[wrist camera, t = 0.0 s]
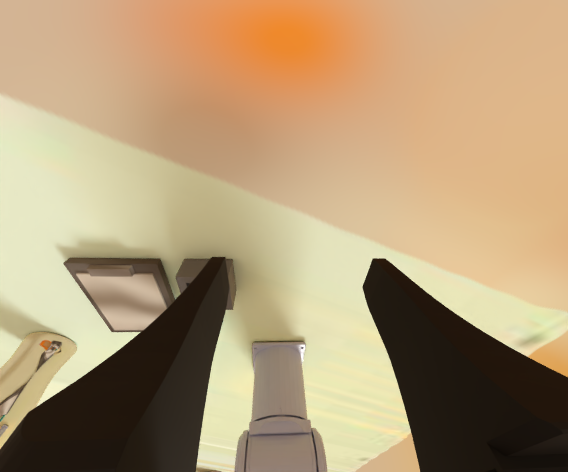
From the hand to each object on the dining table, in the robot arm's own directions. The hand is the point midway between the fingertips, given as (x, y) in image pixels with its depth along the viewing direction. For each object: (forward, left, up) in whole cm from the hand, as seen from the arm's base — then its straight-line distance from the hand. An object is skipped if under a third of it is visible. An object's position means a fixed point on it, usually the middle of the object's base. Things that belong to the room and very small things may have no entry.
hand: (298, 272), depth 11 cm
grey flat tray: (-14, +17, -10) cm, 25 cm away
